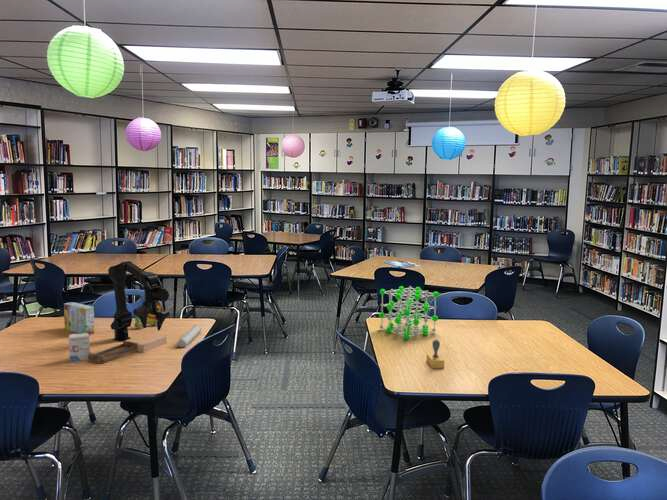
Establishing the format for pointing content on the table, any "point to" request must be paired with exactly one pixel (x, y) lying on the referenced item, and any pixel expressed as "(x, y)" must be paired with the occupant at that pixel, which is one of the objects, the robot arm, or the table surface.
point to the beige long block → (151, 343)
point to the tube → (189, 336)
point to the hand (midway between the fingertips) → (151, 329)
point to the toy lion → (148, 318)
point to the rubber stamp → (435, 356)
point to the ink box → (79, 346)
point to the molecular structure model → (408, 311)
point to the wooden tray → (113, 352)
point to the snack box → (79, 318)
